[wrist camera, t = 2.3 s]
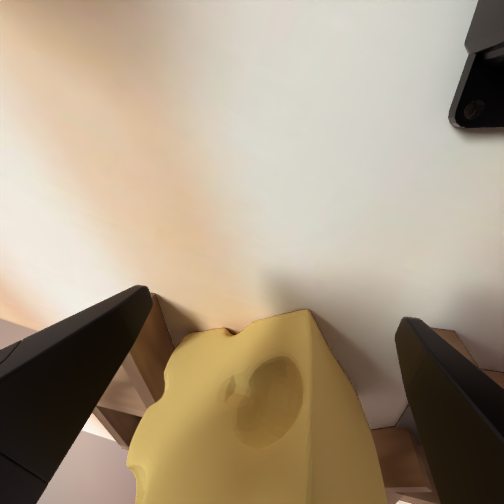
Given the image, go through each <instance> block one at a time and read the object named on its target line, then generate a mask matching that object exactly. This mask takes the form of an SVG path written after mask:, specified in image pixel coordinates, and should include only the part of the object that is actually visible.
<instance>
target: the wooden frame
mask: <svg viewBox="0 0 504 504" xmlns="http://www.w3.org/2000/svg"><path fill="white" fill-rule="evenodd" d="M150 294H151V297H152V300H153V307H152V309H151V311H150V313H149V315H148V317H147V319H146V321H145V324H144V326H143V328H142V330H141V332H140V334H139V336H138V338H137V340H136V341H135V343H134V345H133V347H132V348H131V350H130V352H129V353H128V355H127V357H126V358H125V360H124V361H123V363H122V365H121V366H120V368H119V370H118V371H117V373H116V375H115V376H114V378H113V379H112V381H111V383H110V384H109V386H108V388H107V389H106V391H105V392H104V394H103V396H102V397H101V399H100V401H99V402H98V404H97V405H96V407H95V409H94V410H93V412H92V413H93V414H94V415H95V416H96V417H97V419H98V420H99V421H100V422H101V423H102V425H103V426H104V427H105V428H106V429H107V431H108V432H109V433H110V434H111V435H112V437H113V438H114V439H115V440H116V441H117V443H118V444H119V445H120V446H121V447H122V448H123V449H126V450H129V447H130V444H131V441H132V438H133V436H134V433H135V431H136V429H137V427H138V425H139V423H140V421H141V419H142V417H143V415H144V414H145V412H146V410H147V409H148V407H150V406H151V405H152V404H154V403H156V402H157V401H159V400H160V399H161V398H162V396H163V394H164V392H165V380H164V371H165V368H166V365H167V363H168V361H169V359H170V357H171V355H172V353H173V352H174V347H173V344H172V341H171V339H170V336H169V333H168V330H167V327H166V324H165V321H164V318H163V316H162V313H161V310H160V307H159V304H158V301H157V298H156V295H155V293H150ZM432 329H433V330H434V331H435V332H436V333H438V334H439V335H440V336H441V337H442V338H444V339H445V340H446V341H447V342H448V343H450V344H451V345H452V346H453V347H454V348H456V349H457V350H458V351H459V352H461V353H462V354H463V355H464V356H465V357H467V358H468V359H469V360H470V361H471V362H473V363H474V364H475V365H476V366H477V367H478V365H477V364H476V362H475V361H474V359H473V358H472V356H471V355H470V353H469V352H468V350H467V349H466V347H465V346H464V344H463V343H462V341H461V340H460V338H459V337H458V335H457V334H456V332H455V331H451V330H443V329H435V328H432ZM481 370H482V369H481ZM482 371H483V372H485V373H486V374H487V375H488V376H489V377H491V378H492V379H493V380H494V381H495V382H497V383H498V384H499V385H500V386H502V387H503V388H504V373H502V372H495V371H489V370H482ZM371 434H372V437H373V440H374V444H375V448H376V452H377V456H378V460H379V465H380V469H381V474H382V478H383V483H384V487H385V492H386V497H387V502H388V504H396V503H397V502H398V501H399V500H401V501H404V502H408V503H412V504H440V500H439V497H438V494H437V491H436V488H435V485H434V481H433V478H432V475H431V472H430V469H429V466H428V463H427V459H426V456H425V453H424V450H423V447H422V444H421V440H420V437H419V434H418V431H417V428H416V425H415V421H414V418H413V415H412V412H411V409H410V406H409V405H408V407H407V408H406V410H405V412H404V413H403V415H402V416H401V418H400V420H399V421H398V423H397V424H396V426H395V427H389V428H383V429H377V430H371Z"/></svg>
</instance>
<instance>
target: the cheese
mask: <svg viewBox="0 0 504 504" xmlns="http://www.w3.org/2000/svg"><path fill="white" fill-rule="evenodd" d="M164 380H165V392H164V394H163V396H162V398H161V399H160V400H159V401H157V402H156V403H154V404H152V405H151V406H150V407H148V409H147V410H146V412H145V414H144V415H143V417H142V419H141V421H140V423H139V425H138V427H137V429H136V431H135V433H134V436H133V438H132V441H131V444H130V447H129V452H128V457H127V467H128V468H129V469H130V470H131V471H132V472H133V474H134V475H135V478H136V484H137V493H136V502H135V504H388V502H387V497H386V492H385V487H384V483H383V478H382V474H381V469H380V465H379V460H378V456H377V452H376V448H375V444H374V440H373V437H372V434H371V430H370V428H369V425H368V422H367V419H366V417H365V414H364V411H363V409H362V406H361V403H360V400H359V398H358V396H357V394H356V392H355V390H354V388H353V386H352V384H351V383H350V381H349V379H348V378H347V376H346V374H345V373H344V371H343V370H342V368H341V367H340V365H339V364H338V362H337V360H336V359H335V357H334V356H333V354H332V352H331V351H330V349H329V347H328V345H327V343H326V341H325V340H324V338H323V336H322V334H321V332H320V330H319V328H318V326H317V324H316V322H315V320H314V318H313V317H312V315H311V313H310V311H309V310H308V309H303V310H298V311H294V312H290V313H286V314H282V315H278V316H274V317H270V318H266V319H262V320H258V321H255V322H252V323H251V324H250V325H248V326H247V327H246V328H245V329H244V330H243V331H241V332H240V333H239V334H237V335H232V334H231V333H230V332H229V331H228V330H227V329H225V328H219V329H213V330H207V331H201V332H194V333H189V334H187V335H186V336H185V337H184V338H183V339H182V340H181V342H180V343H179V344H178V346H177V347H176V348H175V350H174V352H173V353H172V355H171V357H170V359H169V361H168V363H167V365H166V368H165V371H164Z"/></svg>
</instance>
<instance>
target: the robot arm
mask: <svg viewBox="0 0 504 504" xmlns="http://www.w3.org/2000/svg"><path fill="white" fill-rule="evenodd" d="M465 47H466V50H467V52H468V54H469V55H468V58H467V61H466V64H465V67H464V70H463V72H462V75H461V78H460V81H459V84H458V87H457V90H456V93H455V96H454V99H453V101H452V104H451V107H450V110H449V116H448V118H449V121H450V123H451V124H452V125H453V126H455V127H462V128H482V127H504V0H479V1H478V4H477V7H476V10H475V13H474V16H473V19H472V22H471V25H470V28H469V31H468V34H467V37H466V40H465ZM473 101H474V102H475V103H476V105H477V106H476V110H475V112H474V114H473V115H471V116H470V117H469V118H466V117H465V116H464V110H465V109H466V107H467V106H468V105H469V104H470V103H471V102H473ZM152 307H153V300H152V297H151V294H150V291H149V289H148V287H147V286H142V285H135V286H133V287H131V288H129V289H127V290H125V291H123V292H121V293H118V294H116V295H114V296H112V297H110V298H108V299H106V300H104V301H102V302H100V303H98V304H95V305H93V306H91V307H89V308H87V309H85V310H83V311H81V312H79V313H77V314H75V315H72V316H70V317H68V318H66V319H64V320H62V321H60V322H58V323H56V324H54V325H52V326H49V327H47V328H45V329H43V330H41V331H39V332H37V333H35V334H33V335H31V336H29V337H27V338H24V339H23V340H20V341H18V342H16V343H14V344H12V345H10V346H8V347H5V348H3V349H1V350H0V504H36V503H37V501H38V500H39V498H40V497H41V495H42V494H43V492H44V490H45V488H46V487H47V485H48V483H49V482H50V480H51V479H52V477H53V475H54V473H55V472H56V470H57V469H58V467H59V465H60V464H61V462H62V461H63V459H64V457H65V456H66V454H67V452H68V451H69V449H70V448H71V446H72V444H73V443H74V441H75V439H76V438H77V436H78V434H79V433H80V431H81V430H82V428H83V427H84V425H85V423H86V422H87V420H88V418H89V417H90V415H91V414H92V412H93V410H94V409H95V407H96V405H97V404H98V402H99V401H100V399H101V397H102V396H103V394H104V392H105V391H106V389H107V388H108V386H109V384H110V383H111V381H112V379H113V378H114V376H115V375H116V373H117V371H118V370H119V368H120V366H121V365H122V363H123V361H124V360H125V358H126V357H127V355H128V353H129V352H130V350H131V348H132V347H133V345H134V343H135V341H136V340H137V338H138V336H139V334H140V332H141V330H142V328H143V326H144V324H145V321H146V319H147V317H148V315H149V313H150V311H151V309H152ZM395 343H396V349H397V354H398V359H399V364H400V369H401V374H402V379H403V384H404V388H405V392H406V396H407V399H408V402H409V406H410V409H411V412H412V415H413V418H414V421H415V425H416V428H417V431H418V434H419V437H420V440H421V444H422V447H423V450H424V453H425V456H426V459H427V463H428V466H429V469H430V472H431V475H432V478H433V481H434V485H435V488H436V491H437V494H438V497H439V500H440V504H504V388H503V387H502V386H500V385H499V384H498V383H497V382H495V381H494V380H493V379H492V378H491V377H489V376H488V375H487V374H486V373H485V372H483V371H482V370H481V369H480V368H479V367H477V366H476V365H475V364H474V363H473V362H471V361H470V360H469V359H468V358H467V357H465V356H464V355H463V354H462V353H461V352H459V351H458V350H457V349H456V348H454V347H453V346H452V345H451V344H450V343H448V342H447V341H446V340H445V339H444V338H442V337H441V336H440V335H439V334H438V333H436V332H435V331H434V330H433V329H432V328H430V327H429V326H428V325H427V324H426V323H424V322H423V321H422V320H420V319H418V318H413V317H403V318H402V320H401V322H400V324H399V327H398V329H397V331H396V334H395Z"/></svg>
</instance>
